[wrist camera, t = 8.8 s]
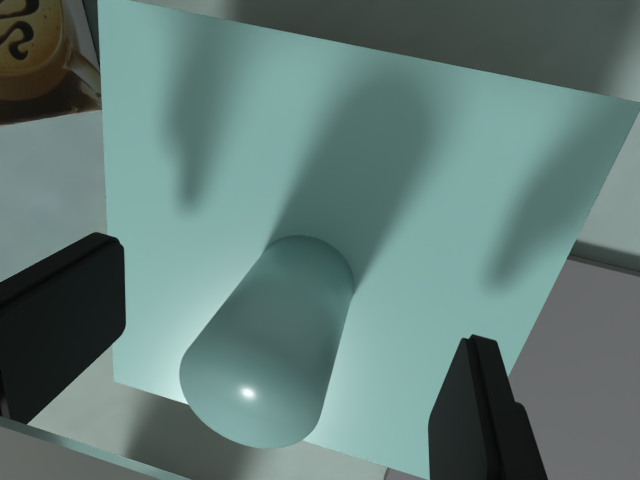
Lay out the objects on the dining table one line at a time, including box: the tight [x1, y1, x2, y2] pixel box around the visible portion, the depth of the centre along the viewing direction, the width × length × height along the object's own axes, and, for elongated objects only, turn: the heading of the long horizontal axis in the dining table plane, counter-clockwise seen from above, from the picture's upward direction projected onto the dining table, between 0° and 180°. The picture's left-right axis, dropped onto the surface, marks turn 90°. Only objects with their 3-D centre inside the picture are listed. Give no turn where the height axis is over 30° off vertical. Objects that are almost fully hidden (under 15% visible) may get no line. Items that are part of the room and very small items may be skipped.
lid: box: [97, 0, 640, 480], centre depth 11 cm, size 14×14×6 cm
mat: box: [384, 255, 640, 480], centre depth 20 cm, size 16×16×1 cm
